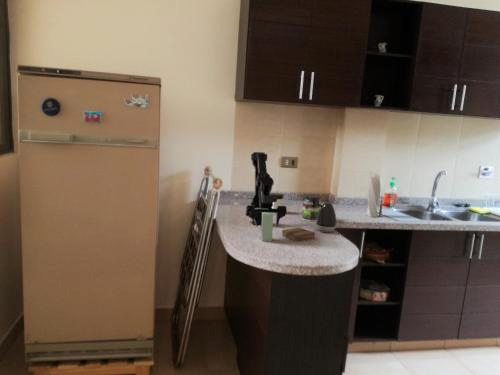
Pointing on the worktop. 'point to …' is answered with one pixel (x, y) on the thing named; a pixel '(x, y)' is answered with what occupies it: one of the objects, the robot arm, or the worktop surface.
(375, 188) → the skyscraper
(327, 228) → the dark rounded piece
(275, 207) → the jar
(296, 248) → the worktop surface
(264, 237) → the green block
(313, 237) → the walnut riser
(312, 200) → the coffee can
